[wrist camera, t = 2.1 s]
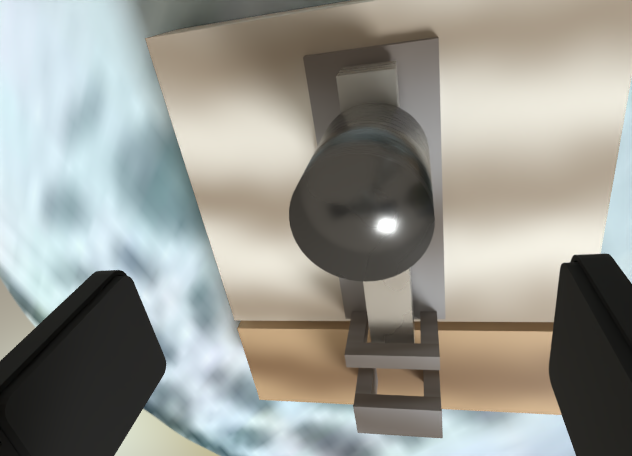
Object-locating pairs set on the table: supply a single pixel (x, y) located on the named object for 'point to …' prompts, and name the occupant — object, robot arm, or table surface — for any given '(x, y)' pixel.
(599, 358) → the robot arm
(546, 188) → the lock board
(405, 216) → the dark metal knob
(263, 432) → the table surface
